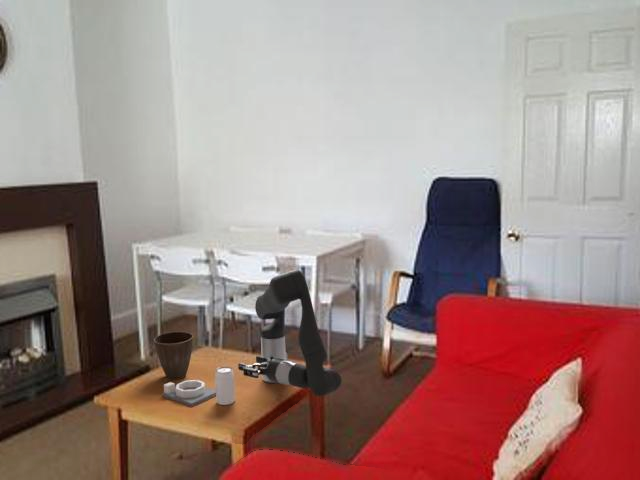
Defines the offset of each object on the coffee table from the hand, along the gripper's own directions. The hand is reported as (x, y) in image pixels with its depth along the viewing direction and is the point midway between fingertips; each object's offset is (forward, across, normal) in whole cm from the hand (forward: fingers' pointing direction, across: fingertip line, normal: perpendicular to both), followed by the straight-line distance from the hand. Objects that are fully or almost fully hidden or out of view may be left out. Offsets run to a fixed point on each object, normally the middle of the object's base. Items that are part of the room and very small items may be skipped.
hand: (247, 362), depth 208 cm
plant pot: (+46, -6, +17) cm, 49 cm away
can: (+12, 0, +17) cm, 21 cm away
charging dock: (+27, +3, +17) cm, 32 cm away
